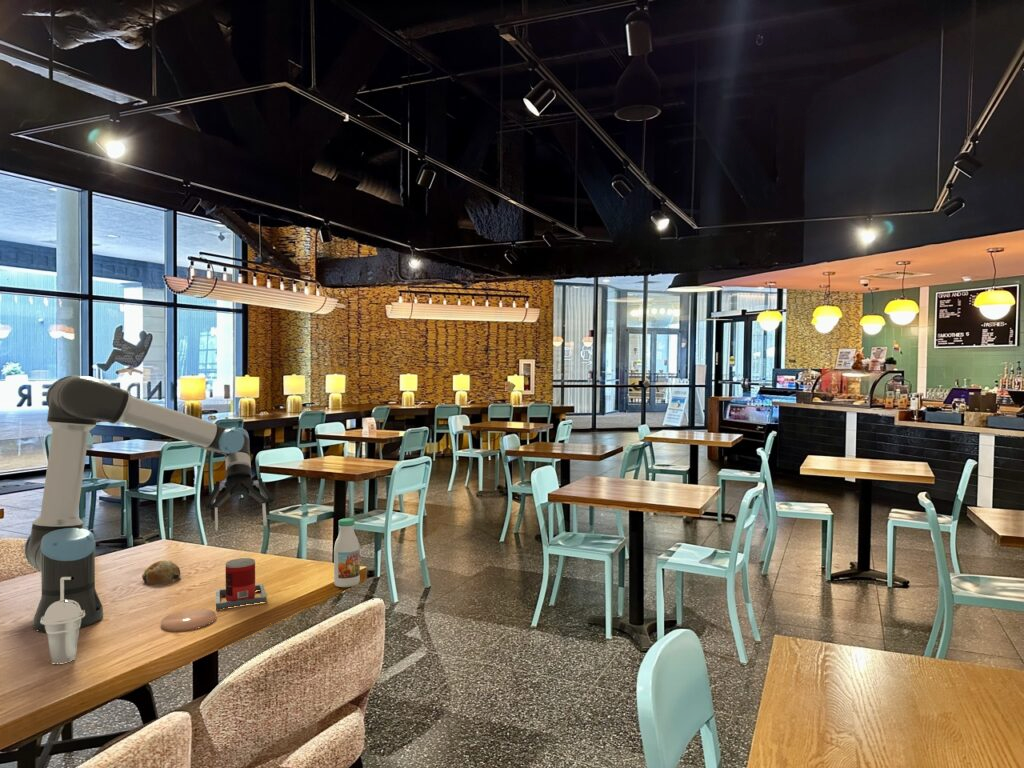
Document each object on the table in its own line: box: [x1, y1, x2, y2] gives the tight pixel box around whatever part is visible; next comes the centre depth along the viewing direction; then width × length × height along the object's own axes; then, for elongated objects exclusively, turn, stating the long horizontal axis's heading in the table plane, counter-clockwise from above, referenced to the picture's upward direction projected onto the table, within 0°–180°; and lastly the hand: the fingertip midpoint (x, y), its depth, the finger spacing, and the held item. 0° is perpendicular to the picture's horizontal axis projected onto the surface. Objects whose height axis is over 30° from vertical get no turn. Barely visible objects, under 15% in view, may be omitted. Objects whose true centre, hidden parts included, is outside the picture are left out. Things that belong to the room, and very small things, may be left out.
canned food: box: [224, 557, 256, 601], centre depth 190 cm, size 8×8×11 cm
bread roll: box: [141, 560, 181, 586], centre depth 208 cm, size 10×10×8 cm
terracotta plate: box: [160, 608, 217, 632], centre depth 173 cm, size 13×13×1 cm
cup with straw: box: [40, 577, 86, 664], centre depth 149 cm, size 8×9×20 cm
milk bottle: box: [333, 517, 361, 588], centre depth 204 cm, size 8×8×20 cm
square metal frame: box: [215, 583, 267, 611], centre depth 190 cm, size 13×13×2 cm
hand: (241, 526), depth 200 cm, fingers open, 13 cm apart
